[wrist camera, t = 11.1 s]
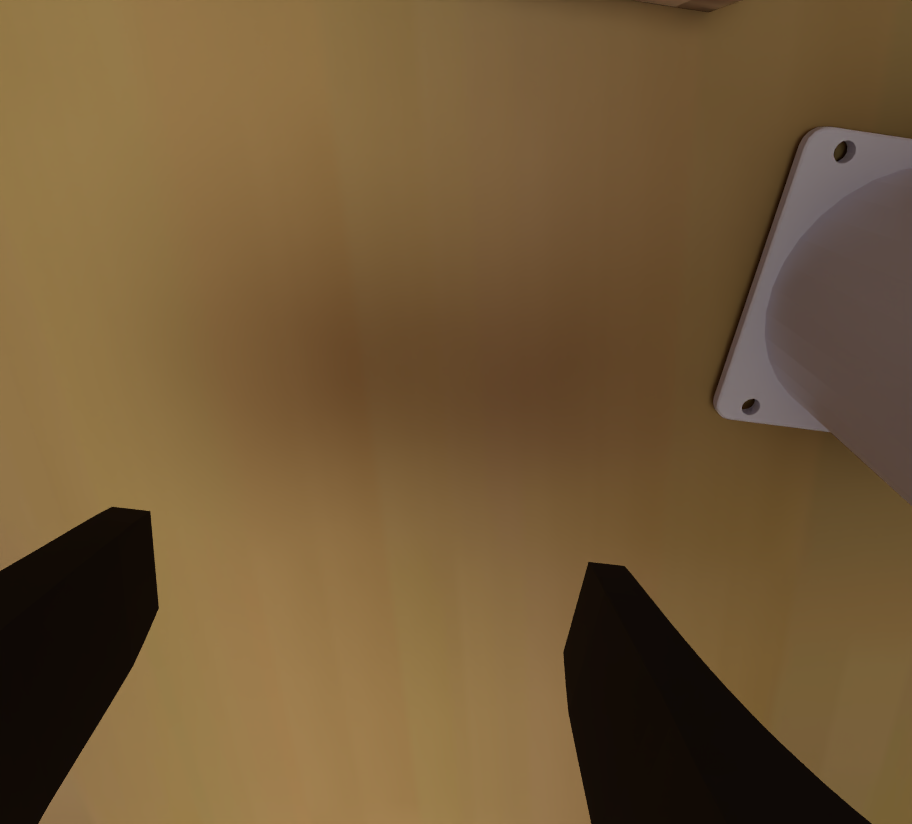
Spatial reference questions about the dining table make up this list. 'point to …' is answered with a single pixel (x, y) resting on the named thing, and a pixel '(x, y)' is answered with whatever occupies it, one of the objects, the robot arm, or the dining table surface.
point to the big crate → (694, 4)
